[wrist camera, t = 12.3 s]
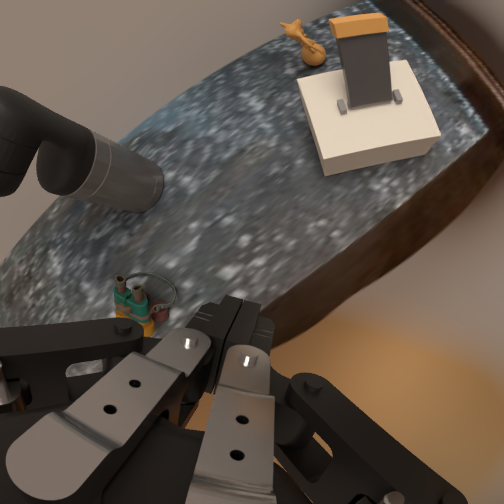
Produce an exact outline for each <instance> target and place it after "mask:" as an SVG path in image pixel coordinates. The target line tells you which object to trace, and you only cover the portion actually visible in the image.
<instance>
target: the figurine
mask: <svg viewBox="0 0 504 504" xmlns="http://www.w3.org/2000/svg"><path fill="white" fill-rule="evenodd" d="M280 25H282V26H284V27H285V34H286V35H287V36H288V37H290V38H292V39H295V40H296V41H300V43H301V45H302V46H303V49H302V51H301V56H302V59H303V60H304V61H305V62H306V63H307V64H309V65H312V66H316V65H320V64H322V63H323V62H324V60H325V58H326V52H325V50H324V48H323V47H322V46H321V45H319V44H316V43H315V41H314V40H311V39H309V38H306V37H307V35H306V34H304V31H303V29H302V28H301V25H302V22H301V20H299V19H297V20H295V21H294V22H293V23H292V24H286V23H283V22H281V23H280Z"/></svg>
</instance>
